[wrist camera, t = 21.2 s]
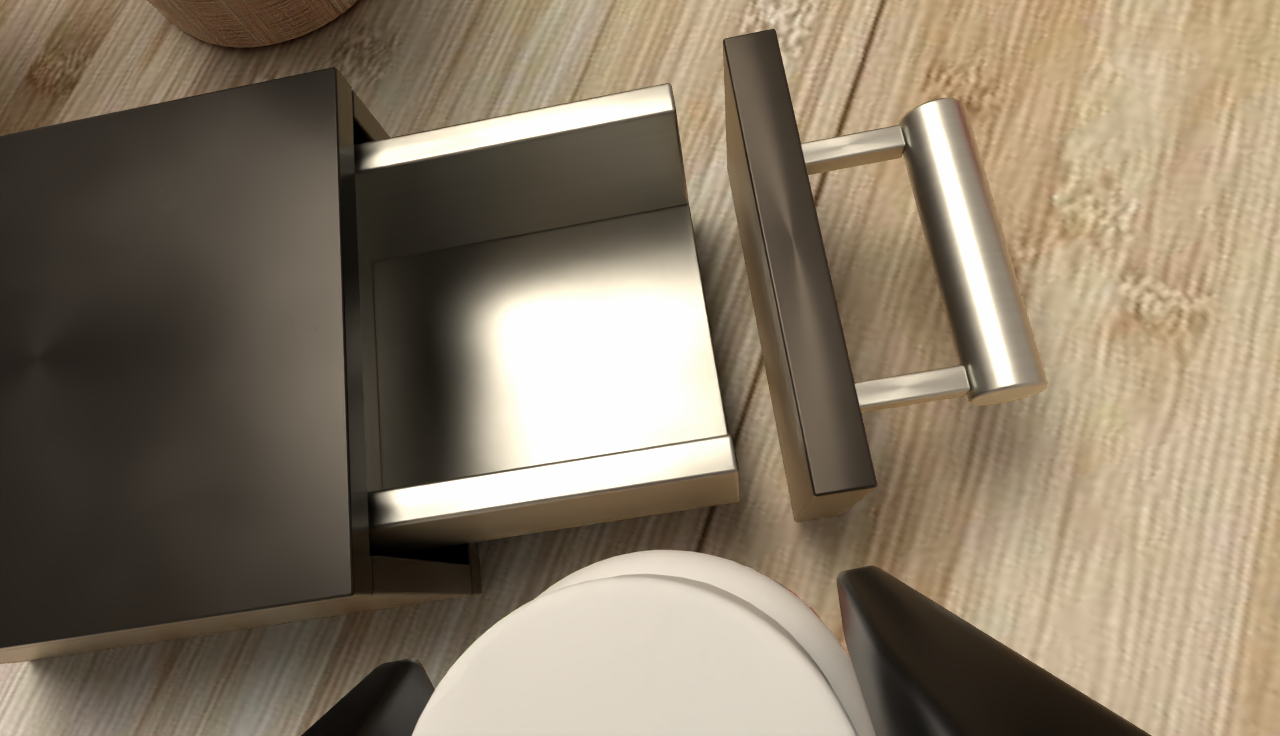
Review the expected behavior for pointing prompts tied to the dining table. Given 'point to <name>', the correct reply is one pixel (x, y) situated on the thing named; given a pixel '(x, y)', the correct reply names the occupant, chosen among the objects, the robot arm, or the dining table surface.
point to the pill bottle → (654, 659)
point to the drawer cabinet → (189, 376)
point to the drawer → (639, 310)
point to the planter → (250, 19)
